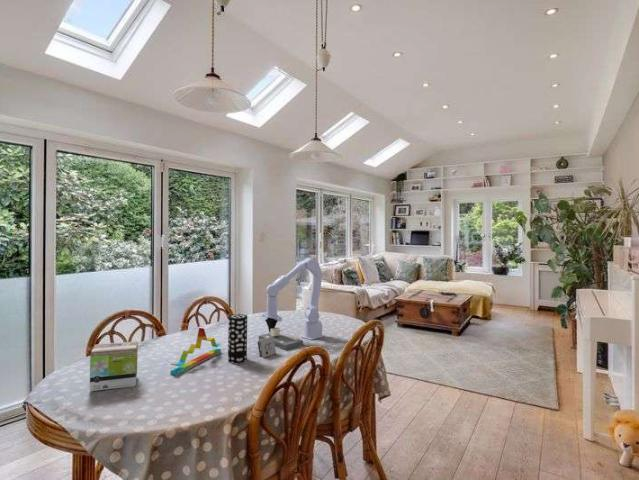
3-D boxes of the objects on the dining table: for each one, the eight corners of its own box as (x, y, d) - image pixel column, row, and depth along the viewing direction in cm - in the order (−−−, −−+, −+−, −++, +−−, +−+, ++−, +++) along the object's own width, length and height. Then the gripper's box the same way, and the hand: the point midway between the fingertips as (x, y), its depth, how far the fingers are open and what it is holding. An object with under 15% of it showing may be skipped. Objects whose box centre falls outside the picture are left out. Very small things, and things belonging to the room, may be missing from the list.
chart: (176, 376, 148) (177, 339, 148) (170, 375, 149) (170, 338, 149) (221, 353, 177) (221, 322, 176) (215, 352, 178) (216, 321, 177)
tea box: (89, 393, 131) (89, 352, 131) (93, 382, 140) (93, 343, 140) (136, 386, 137) (136, 347, 137) (137, 376, 146) (137, 339, 146)
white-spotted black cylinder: (250, 358, 169) (250, 315, 169) (240, 364, 162) (241, 319, 161) (234, 356, 172) (235, 313, 172) (224, 362, 164) (224, 317, 164)
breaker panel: (276, 336, 206) (276, 331, 206) (303, 345, 190) (303, 340, 190) (258, 340, 197) (258, 335, 197) (285, 350, 182) (285, 345, 182)
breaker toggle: (276, 333, 199) (276, 327, 199) (279, 335, 197) (279, 328, 197) (270, 335, 197) (270, 328, 196) (273, 336, 194) (274, 329, 194)
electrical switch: (263, 358, 170) (262, 340, 170) (256, 357, 173) (255, 339, 173) (276, 353, 177) (275, 336, 177) (269, 352, 180) (268, 335, 180)
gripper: (257, 305, 201) (257, 330, 201) (274, 310, 191) (274, 336, 191) (268, 304, 206) (267, 328, 206) (284, 308, 196) (284, 333, 196)
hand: (271, 332), depth 199 cm, fingers closed
